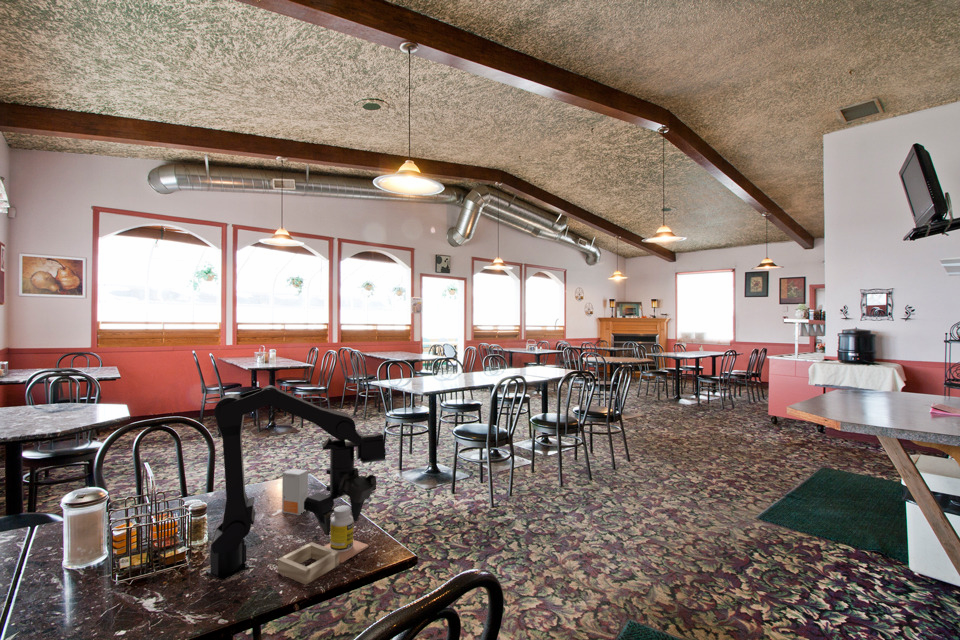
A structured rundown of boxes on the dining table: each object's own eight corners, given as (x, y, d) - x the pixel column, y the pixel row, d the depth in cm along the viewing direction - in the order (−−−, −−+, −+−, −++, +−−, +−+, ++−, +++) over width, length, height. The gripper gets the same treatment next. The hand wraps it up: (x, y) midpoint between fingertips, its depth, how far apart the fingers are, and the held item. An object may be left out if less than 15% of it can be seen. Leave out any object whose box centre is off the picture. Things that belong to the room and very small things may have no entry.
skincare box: (281, 513, 137) (281, 472, 137) (291, 507, 142) (291, 467, 141) (299, 515, 136) (299, 474, 136) (308, 510, 140) (308, 469, 140)
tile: (341, 563, 110) (341, 561, 110) (314, 553, 115) (314, 551, 115) (368, 546, 118) (368, 544, 118) (342, 538, 122) (342, 536, 122)
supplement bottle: (349, 553, 113) (349, 513, 113) (327, 553, 113) (327, 513, 113) (355, 542, 119) (355, 504, 119) (334, 542, 119) (334, 504, 119)
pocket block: (305, 584, 101) (305, 571, 101) (277, 572, 106) (277, 559, 106) (339, 564, 109) (339, 552, 109) (311, 554, 114) (311, 542, 114)
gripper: (336, 482, 104) (335, 552, 104) (392, 460, 120) (392, 521, 120) (302, 473, 109) (302, 540, 110) (360, 453, 125) (360, 511, 126)
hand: (341, 527), depth 116 cm, fingers open, 9 cm apart
